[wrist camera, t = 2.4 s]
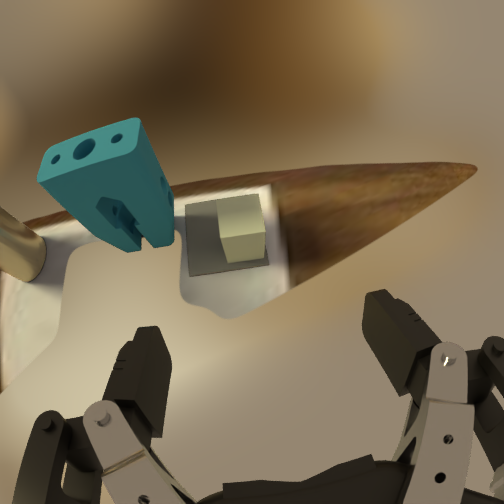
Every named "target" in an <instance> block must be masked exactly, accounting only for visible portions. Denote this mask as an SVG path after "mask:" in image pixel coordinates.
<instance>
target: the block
mask: <svg viewBox="0 0 504 504" xmlns="http://www.w3.org/2000/svg"><path fill="white" fill-rule="evenodd" d="M37 182H38V183H39V184H40V185H41V186H42V187H43V188H44V189H45V190H46V191H47V192H48V193H49V194H50V195H51V196H52V197H53V198H54V199H55V200H56V201H57V202H59V203H60V204H61V205H62V206H63V207H64V208H65V209H66V210H67V211H68V212H69V213H70V214H71V215H72V216H73V217H74V218H76V219H77V220H78V221H79V222H80V223H81V224H82V225H83V226H84V227H85V228H87V229H88V230H89V231H90V232H91V233H92V234H93V235H94V236H96V237H98V238H100V239H101V240H103V241H105V242H107V243H109V244H111V245H113V246H115V247H117V248H119V249H121V250H123V251H125V252H127V253H128V252H135V251H140V250H141V236H142V235H143V236H144V237H145V238H146V239H147V241H148V242H149V243H150V244H151V245H152V246H153V247H154V248H158V247H164V246H169V245H171V244H172V243H173V242H174V195H173V192H172V190H171V188H170V186H169V184H168V182H167V180H166V178H165V175H164V173H163V171H162V169H161V167H160V164H159V162H158V160H157V158H156V155H155V153H154V151H153V149H152V146H151V144H150V142H149V140H148V137H147V135H146V133H145V130H144V128H143V126H142V123H141V121H140V119H138V118H131V119H127V120H124V121H121V122H117V123H114V124H111V125H108V126H104V127H101V128H98V129H96V130H93V131H90V132H87V133H84V134H82V135H79V136H76V137H74V138H71V139H68V140H66V141H64V142H61V143H58V144H56V145H54V146H52V147H50V148H49V149H48V150H47V151H46V153H45V155H44V157H43V160H42V163H41V166H40V169H39V172H38V176H37Z"/></svg>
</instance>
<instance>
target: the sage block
mask: <svg viewBox="0 0 504 504" xmlns="http://www.w3.org/2000/svg"><path fill="white" fill-rule="evenodd" d="M216 204H217V213H218V222H219V231H220V239H221V242H222V245H223V249H224V252H225V255H226V259H227V262H228V263H235V262H242V261H248V260H255V259H261V258H264V252H265V236H266V230H265V225H264V220H263V215H262V210H261V205H260V199H259V194H252V195H245V196H238V197H231V198H224V199H218V200H216Z"/></svg>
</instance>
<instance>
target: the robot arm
mask: <svg viewBox="0 0 504 504" xmlns="http://www.w3.org/2000/svg"><path fill="white" fill-rule="evenodd" d="M45 256H46V245H45V242H44V240H43V239H42V238H41V237H40V236H39V235H37V234H36V233H35V232H33V231H32V230H30V229H29V228H28V227H27V226H25V225H24V224H23V223H21V222H20V221H19V220H17V219H16V218H15V217H13V216H12V215H11V214H10V213H8V212H7V211H6V210H5V209H3V208H2V207H1V206H0V270H1V271H3V272H5V273H7V274H9V275H11V276H13V277H15V278H17V279H19V280H21V281H24V282H29V281H31V280H33V279H34V278H35V277H36V276H37V275H38V274H39V272H40V271H41V269H42V266H43V264H44V261H45ZM362 330H363V334H364V337H365V339H366V341H367V343H368V344H369V346H370V348H371V349H372V351H373V352H374V354H375V356H376V357H377V359H378V361H379V362H380V364H381V366H382V368H383V369H384V371H385V373H386V374H387V376H388V378H389V379H390V381H391V383H392V385H393V386H394V388H395V390H396V392H397V393H398V395H399V397H400V396H403V395H405V394H407V393H410V394H411V396H412V399H411V401H410V405H409V409H408V414H407V417H406V421H405V425H404V429H403V432H402V436H401V439H400V442H399V445H398V447H397V449H396V451H395V453H394V456H393V458H392V460H391V461H386V460H383V461H374V460H373V457H372V455H371V454H370V455H367V456H364V457H361V458H358V459H354V460H351V461H348V462H345V463H341V464H338V465H336V466H334V467H332V468H330V469H328V470H326V471H324V472H322V473H320V474H318V475H316V476H313V477H311V478H309V479H307V480H304V481H301V482H283V481H267V480H256V481H247V482H234V483H223V491H220V492H217V493H214V494H212V495H209V496H207V497H205V498H203V499H201V500H200V501H199V502H197V501H196V500H195V499H194V498H193V497H192V496H191V495H190V494H189V493H188V492H187V491H186V490H185V489H184V488H183V487H182V486H181V485H180V483H179V482H178V481H177V480H176V479H175V478H174V476H173V475H172V474H171V472H170V471H169V470H168V469H167V467H166V466H165V465H164V463H163V462H162V461H161V459H160V458H159V457H158V455H157V454H156V453H155V451H154V450H153V449H152V447H151V446H150V445H151V438H162V433H163V426H164V418H165V411H166V404H167V397H168V390H169V384H170V378H171V371H172V361H171V356H170V354H169V351H168V349H167V346H166V344H165V341H164V339H163V336H162V334H161V331H160V329H159V328H158V326H149V327H139V328H138V329H137V331H136V333H135V336H134V339H133V341H128V342H127V343H126V344H125V345H124V346H123V347H122V348H121V350H120V351H119V354H118V356H117V359H116V362H115V364H114V367H113V371H112V372H111V375H110V378H109V381H108V383H107V386H106V389H105V392H104V395H103V398H102V401H98V402H95V403H94V404H92V405H91V406H90V407H89V408H88V409H87V410H86V411H85V414H84V416H81V417H76V418H70V419H64V418H63V417H62V416H61V415H60V413H58V412H57V411H53V410H50V411H46V412H44V413H42V414H41V415H39V417H38V418H37V419H36V421H35V423H34V426H33V428H32V431H31V434H30V437H29V440H28V443H27V446H26V450H25V453H24V456H23V460H22V463H21V467H20V470H19V475H18V478H17V483H16V487H15V491H14V496H13V502H12V504H100V495H101V486H102V481H103V483H104V485H105V487H106V488H107V490H108V492H109V494H110V496H111V497H112V499H113V501H114V503H115V504H504V410H503V409H502V407H501V405H500V404H499V402H498V400H497V399H496V397H495V396H494V394H493V393H492V392H491V391H492V389H493V388H494V386H496V387H497V389H498V390H499V392H500V393H501V394H502V396H503V398H504V339H503V338H501V337H498V336H492V337H488V338H487V339H486V340H485V341H484V343H483V345H482V347H481V349H478V350H470V351H464V350H463V348H461V347H460V346H459V345H457V344H454V343H451V342H442V341H441V340H440V339H439V338H438V337H437V336H436V334H435V333H434V332H433V331H432V330H431V329H430V328H429V327H428V325H427V324H426V323H425V322H424V321H423V320H421V317H420V316H419V315H418V314H416V312H415V311H414V310H413V309H412V307H411V306H410V305H409V304H407V303H405V302H404V301H402V300H400V299H394V298H393V297H392V295H391V294H390V293H389V292H388V291H387V290H385V289H382V290H378V291H373V292H369V293H367V294H366V296H365V303H364V312H363V320H362ZM473 430H474V432H475V433H476V435H477V437H478V439H479V441H480V443H481V445H482V447H483V449H484V451H485V453H486V455H487V457H488V459H489V462H490V464H491V466H492V468H493V470H494V472H495V473H494V477H493V481H492V482H491V484H490V491H491V492H492V493H495V494H494V497H492V496H488V495H485V494H482V493H479V492H475V491H472V490H469V489H467V488H464V486H465V481H466V476H467V472H468V466H469V460H470V454H471V446H472V438H473ZM65 462H66V463H67V468H66V473H65V478H64V483H63V489H62V488H61V479H62V474H63V469H64V465H65ZM103 470H104V472H103Z"/></svg>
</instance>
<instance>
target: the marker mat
mask: <svg viewBox="0 0 504 504" xmlns="http://www.w3.org/2000/svg"><path fill="white" fill-rule="evenodd" d="M251 195H252V194H251ZM244 196H245V195H244ZM237 197H238V196H237ZM230 198H231V197H230ZM223 199H224V198H223ZM217 200H218V199H217ZM185 216H186V234H187V249H188V263H189V275H190V276H197V275H204V274H211V273H218V272H225V271H232V270H238V269H245V268H252V267H258V266H265V265H269V262H268V257H267V251H266V246H265V252H264V258H261V259H255V260H248V261H242V262H235V263H228V262H227V259H226V255H225V252H224V249H223V245H222V242H221V239H220V231H219V222H218V213H217V204H216V200H211V201H204V202H198V203H192V204H187V205H185Z"/></svg>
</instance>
